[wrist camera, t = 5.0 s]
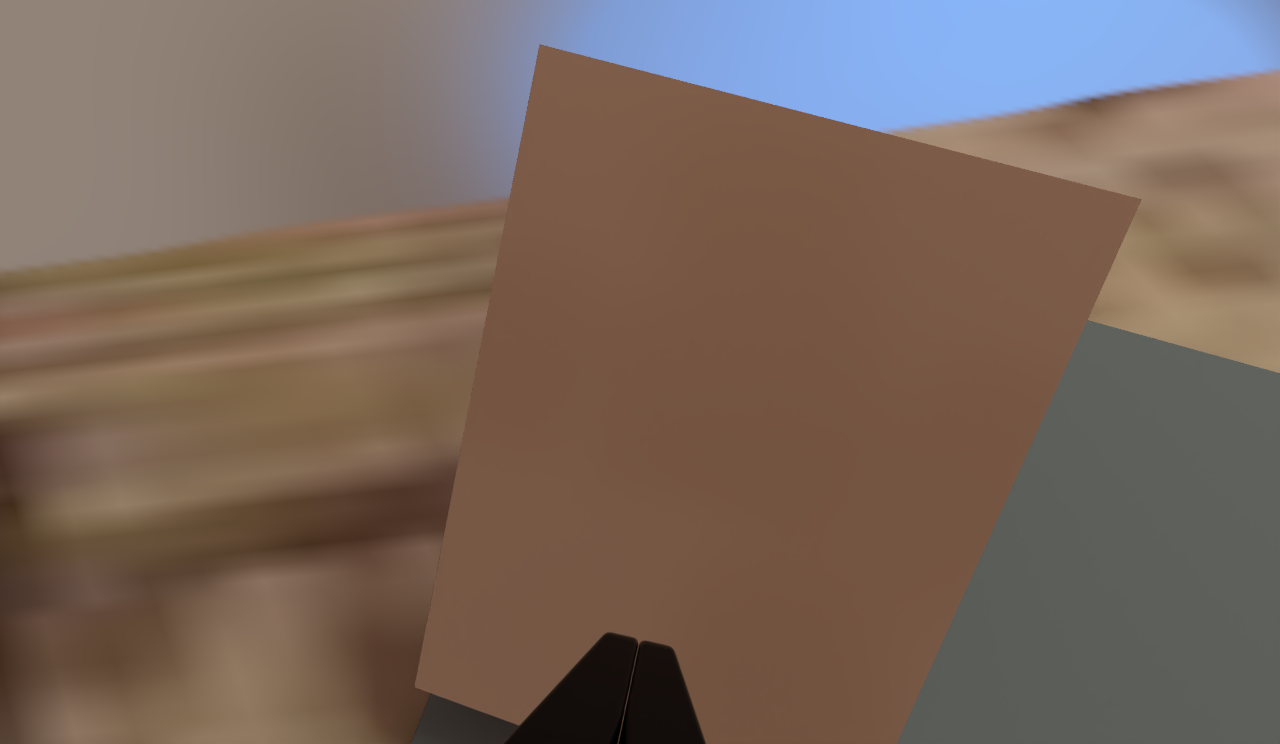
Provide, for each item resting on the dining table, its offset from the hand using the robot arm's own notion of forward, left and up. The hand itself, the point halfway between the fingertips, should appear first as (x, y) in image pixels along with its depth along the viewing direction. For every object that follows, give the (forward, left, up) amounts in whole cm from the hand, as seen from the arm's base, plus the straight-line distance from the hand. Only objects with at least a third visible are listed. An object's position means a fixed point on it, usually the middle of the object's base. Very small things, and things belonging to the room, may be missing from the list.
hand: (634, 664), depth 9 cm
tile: (-1, 0, -6) cm, 6 cm away
